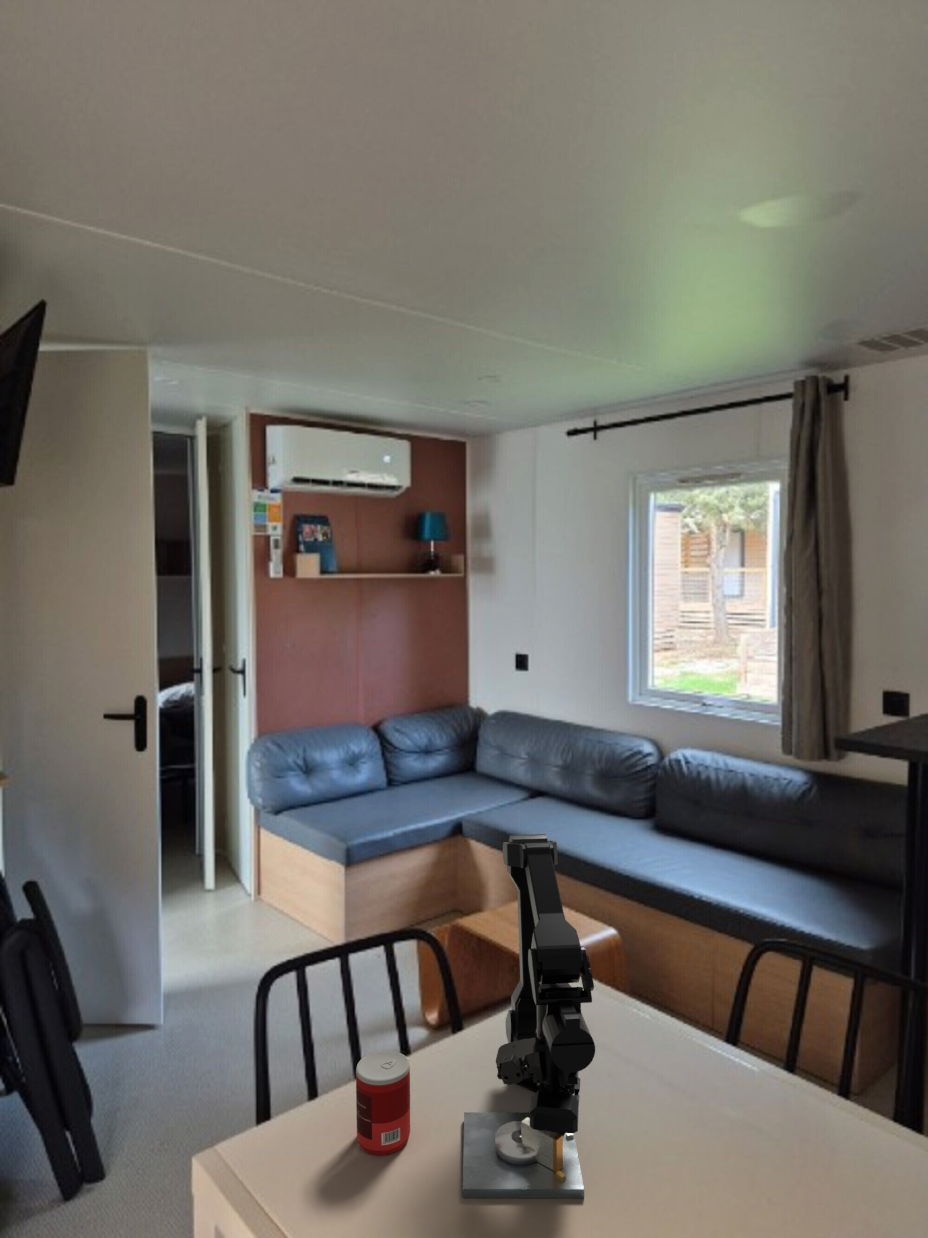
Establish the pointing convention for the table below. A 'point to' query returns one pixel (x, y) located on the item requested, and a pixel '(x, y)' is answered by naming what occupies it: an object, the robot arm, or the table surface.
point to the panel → (509, 1180)
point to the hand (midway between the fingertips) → (558, 1138)
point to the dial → (529, 1145)
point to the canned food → (383, 1102)
